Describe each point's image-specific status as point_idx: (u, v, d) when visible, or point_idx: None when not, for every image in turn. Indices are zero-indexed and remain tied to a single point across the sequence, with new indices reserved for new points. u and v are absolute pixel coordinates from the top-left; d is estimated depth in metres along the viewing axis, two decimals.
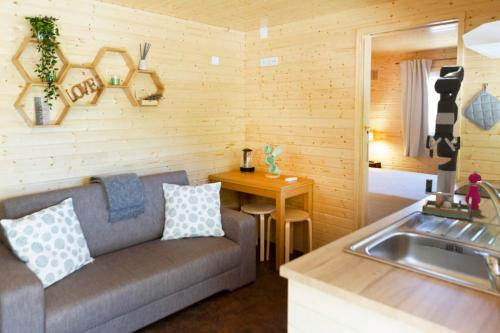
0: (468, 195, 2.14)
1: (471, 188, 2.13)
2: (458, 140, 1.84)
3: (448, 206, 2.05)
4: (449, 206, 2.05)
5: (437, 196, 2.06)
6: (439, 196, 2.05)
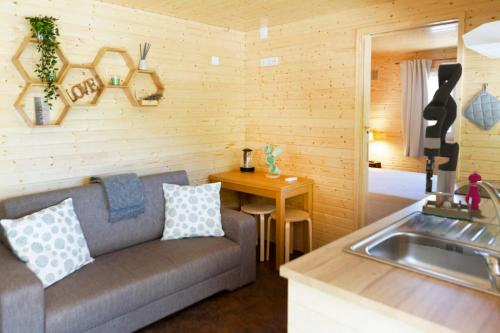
0: (468, 195, 2.14)
1: (471, 188, 2.13)
2: (434, 160, 2.13)
3: (448, 206, 2.05)
4: (449, 206, 2.05)
5: (437, 196, 2.06)
6: (439, 196, 2.05)
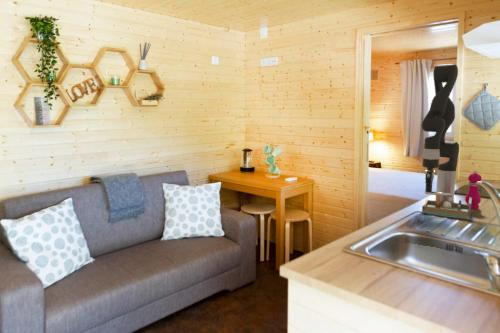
0: (468, 195, 2.14)
1: (471, 188, 2.13)
2: None
3: (448, 206, 2.05)
4: (449, 206, 2.05)
5: (437, 196, 2.06)
6: (439, 196, 2.05)
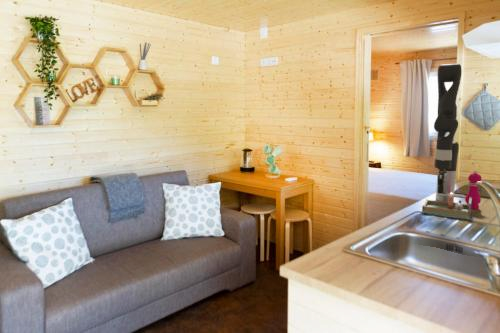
0: (468, 195, 2.14)
1: (471, 188, 2.13)
2: None
3: (457, 208, 2.03)
4: (456, 208, 2.04)
5: (449, 197, 2.03)
6: (451, 197, 2.02)
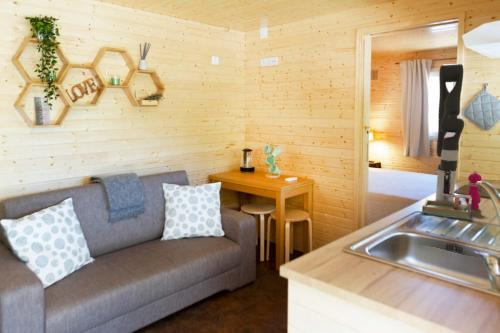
0: None
1: (471, 188, 2.13)
2: None
3: (462, 207, 2.02)
4: (461, 206, 2.02)
5: (455, 198, 2.02)
6: (457, 198, 2.01)
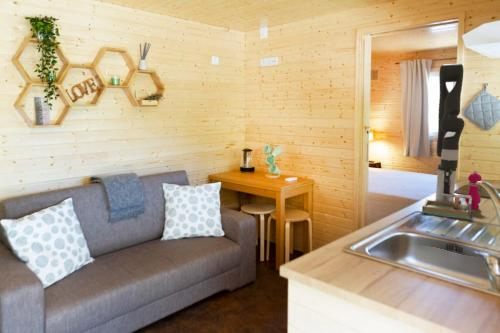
0: None
1: (471, 188, 2.13)
2: (451, 171, 2.09)
3: (462, 207, 2.02)
4: (461, 206, 2.02)
5: (455, 198, 2.02)
6: (458, 198, 2.01)
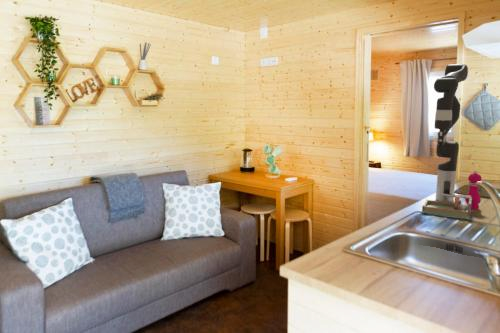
0: None
1: (471, 188, 2.13)
2: None
3: (462, 207, 2.02)
4: (461, 206, 2.02)
5: (455, 198, 2.02)
6: (458, 198, 2.01)
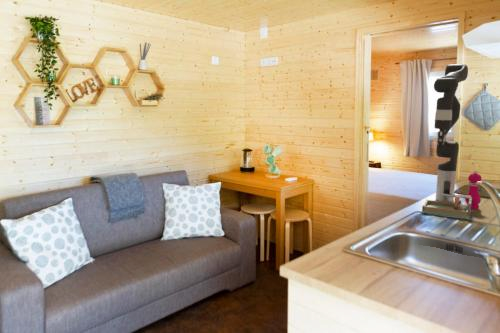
0: None
1: (471, 188, 2.13)
2: None
3: (462, 207, 2.02)
4: (461, 206, 2.02)
5: (455, 198, 2.02)
6: (458, 198, 2.01)
